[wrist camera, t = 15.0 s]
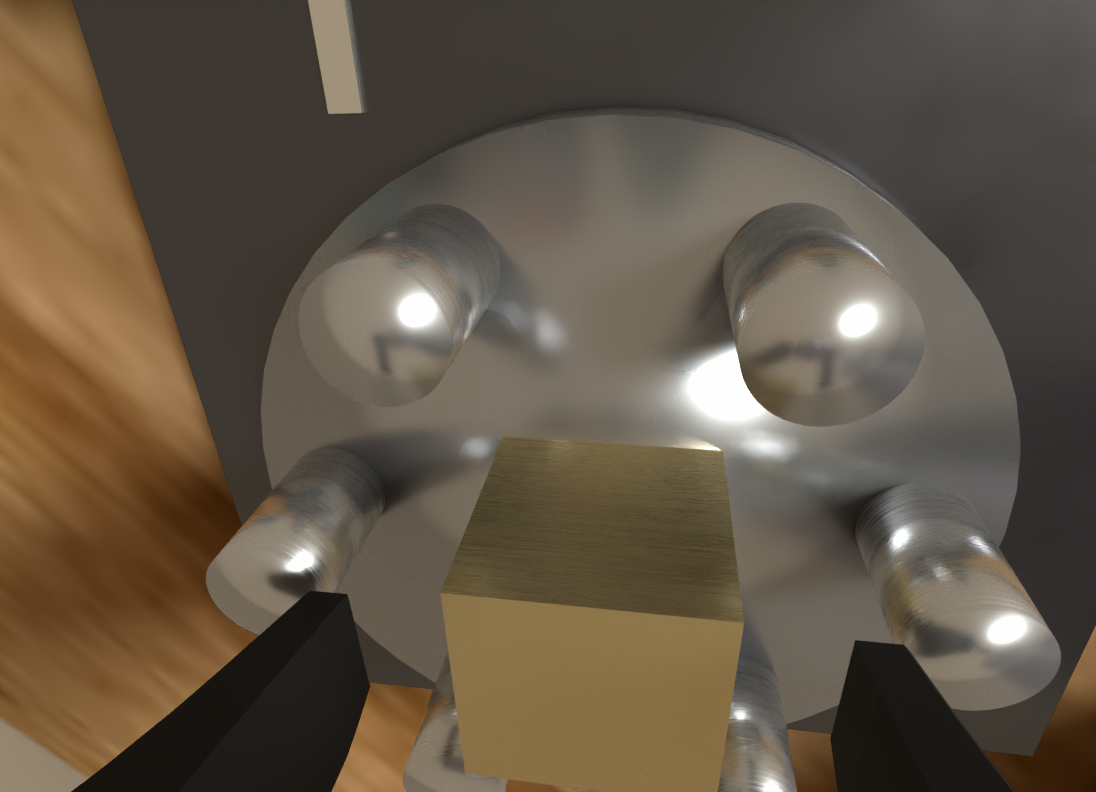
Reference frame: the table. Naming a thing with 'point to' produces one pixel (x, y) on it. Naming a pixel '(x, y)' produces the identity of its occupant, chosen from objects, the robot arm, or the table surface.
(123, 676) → the table surface
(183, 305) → the base plate
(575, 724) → the link block
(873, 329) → the pinned metal disc
